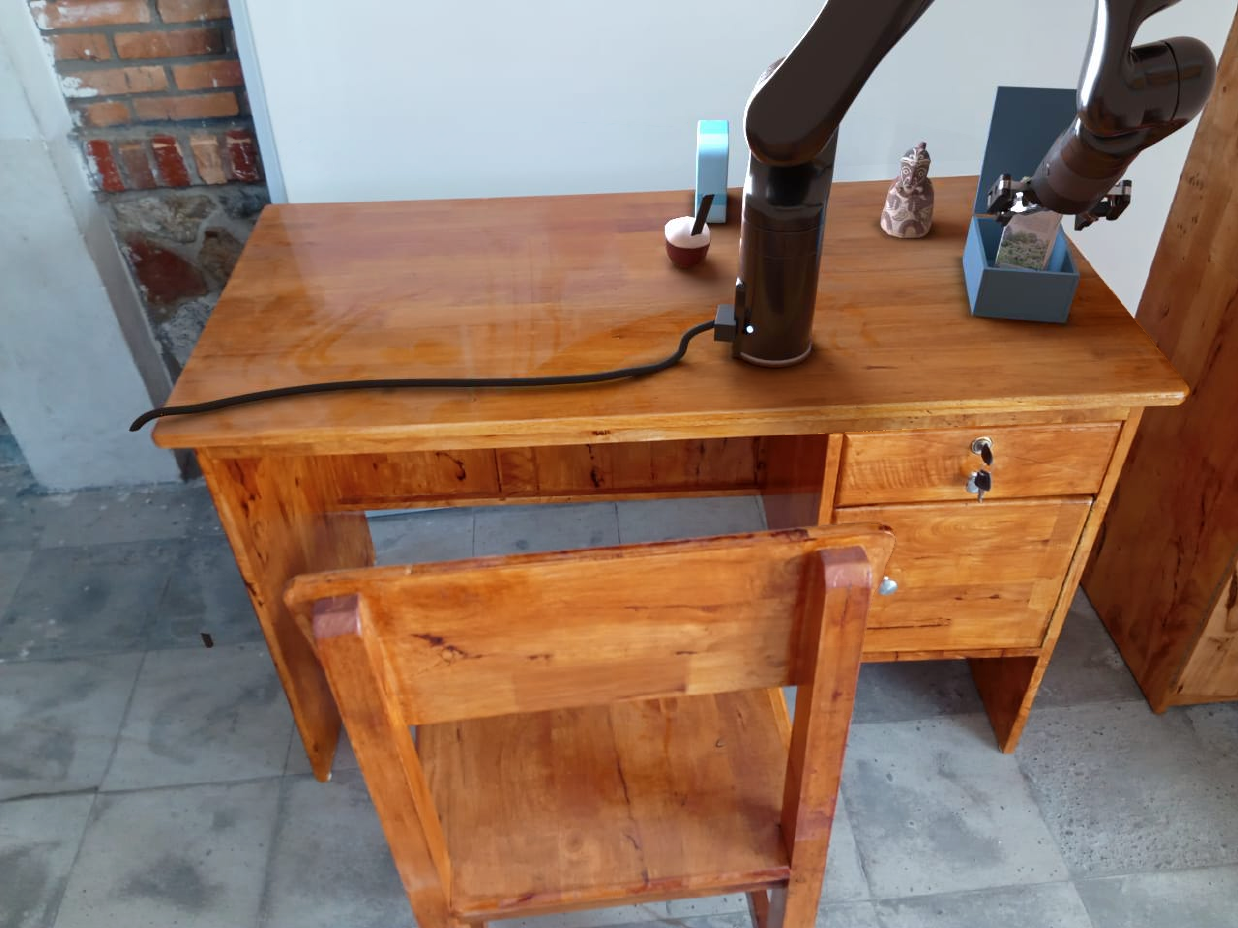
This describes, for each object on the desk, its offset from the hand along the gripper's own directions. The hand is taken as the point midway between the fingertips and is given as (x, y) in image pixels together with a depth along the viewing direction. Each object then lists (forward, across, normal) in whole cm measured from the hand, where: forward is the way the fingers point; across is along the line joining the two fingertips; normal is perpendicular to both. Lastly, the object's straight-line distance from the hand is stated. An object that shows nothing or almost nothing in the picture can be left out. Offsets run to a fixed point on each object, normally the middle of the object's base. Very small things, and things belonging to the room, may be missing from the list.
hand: (1039, 221), depth 115 cm
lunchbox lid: (+7, 0, -11) cm, 13 cm away
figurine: (+24, +13, -7) cm, 28 cm away
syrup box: (+10, 0, +6) cm, 12 cm away
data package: (+25, +42, -8) cm, 50 cm away
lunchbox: (+12, 0, +5) cm, 13 cm away
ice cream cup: (+12, +43, +5) cm, 45 cm away
